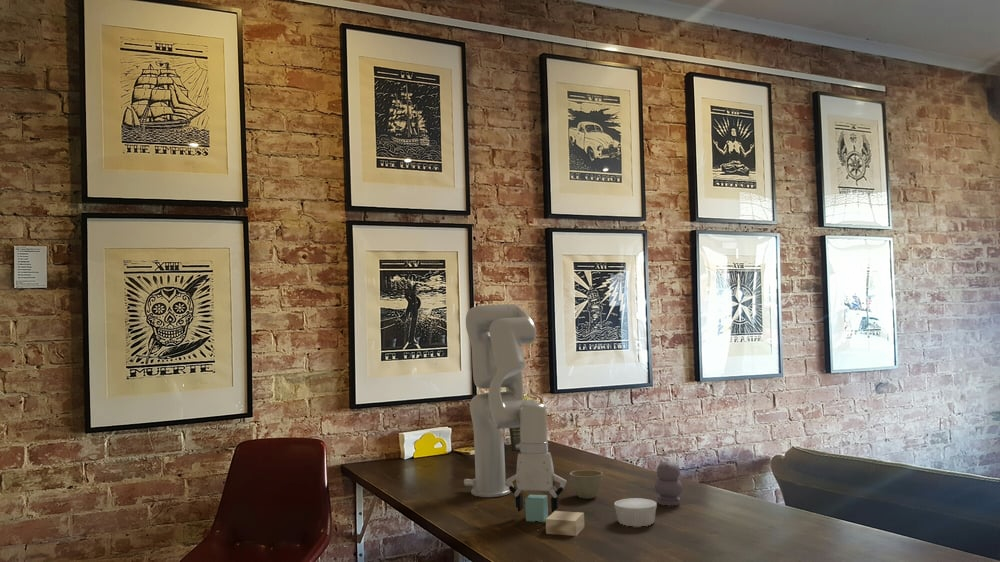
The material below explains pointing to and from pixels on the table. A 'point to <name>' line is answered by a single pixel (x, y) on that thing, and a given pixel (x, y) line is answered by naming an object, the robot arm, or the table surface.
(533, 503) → the block
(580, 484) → the flower pot
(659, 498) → the cat figurine
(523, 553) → the table surface
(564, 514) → the base
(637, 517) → the ramekin
